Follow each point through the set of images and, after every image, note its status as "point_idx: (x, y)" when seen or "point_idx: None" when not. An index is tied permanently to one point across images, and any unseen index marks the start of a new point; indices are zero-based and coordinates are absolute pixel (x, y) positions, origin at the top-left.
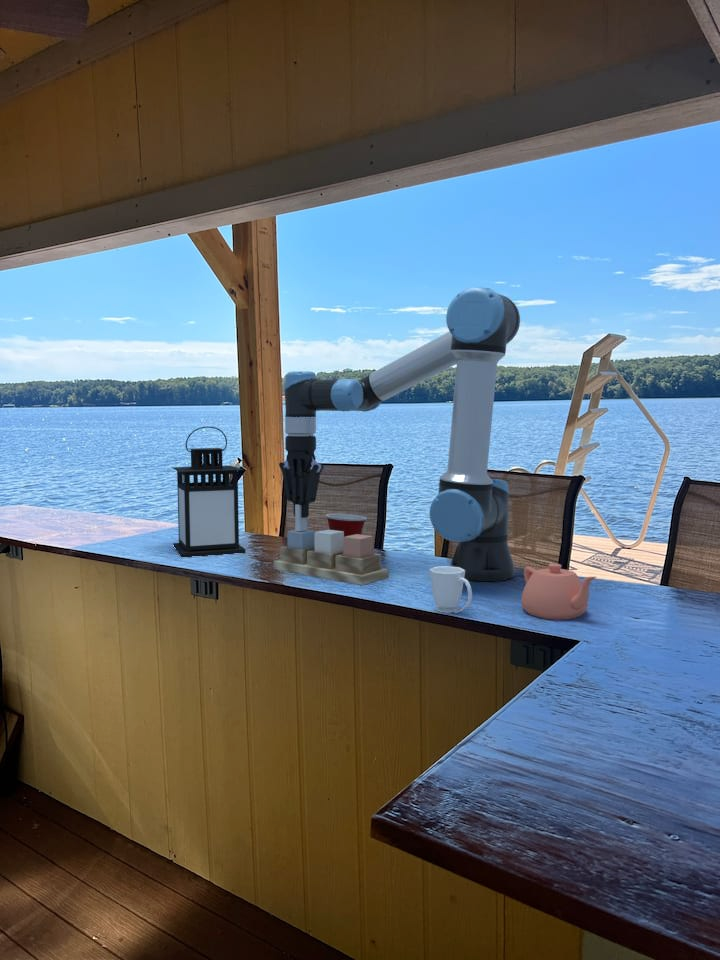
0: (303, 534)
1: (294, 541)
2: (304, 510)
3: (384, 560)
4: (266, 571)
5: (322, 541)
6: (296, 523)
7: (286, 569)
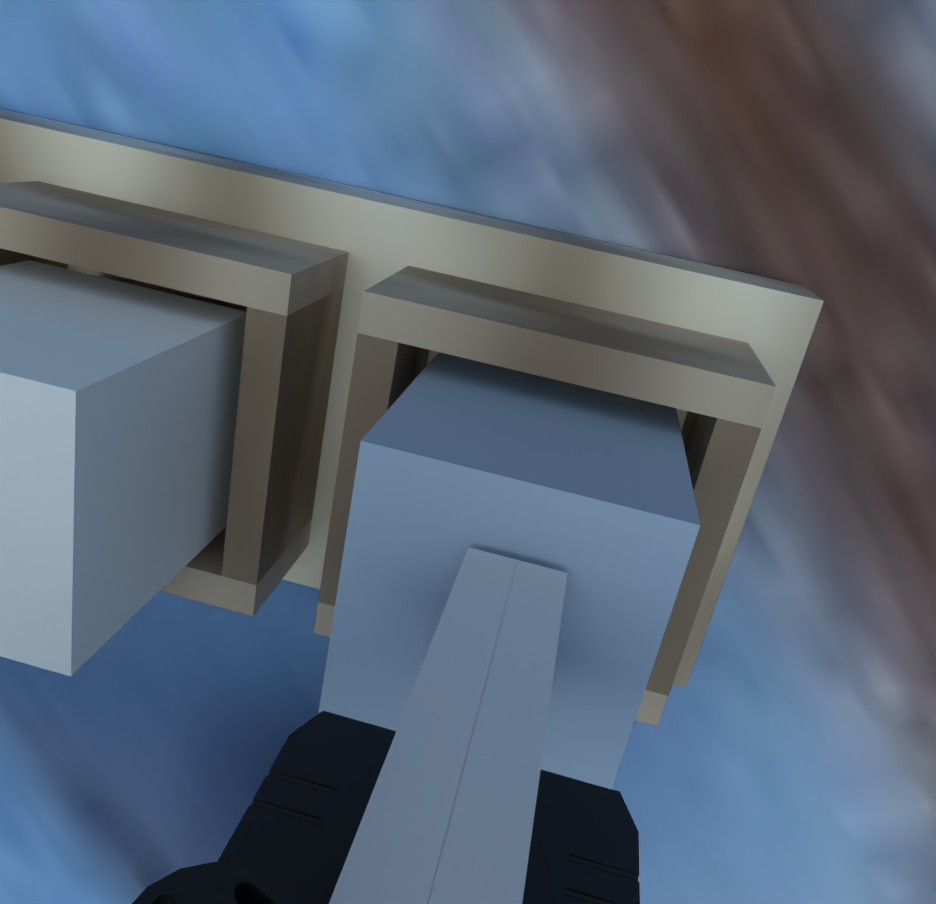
0: (362, 462)
1: (547, 432)
2: (248, 827)
3: (140, 890)
4: (828, 154)
5: (8, 324)
6: (524, 632)
7: (612, 244)
